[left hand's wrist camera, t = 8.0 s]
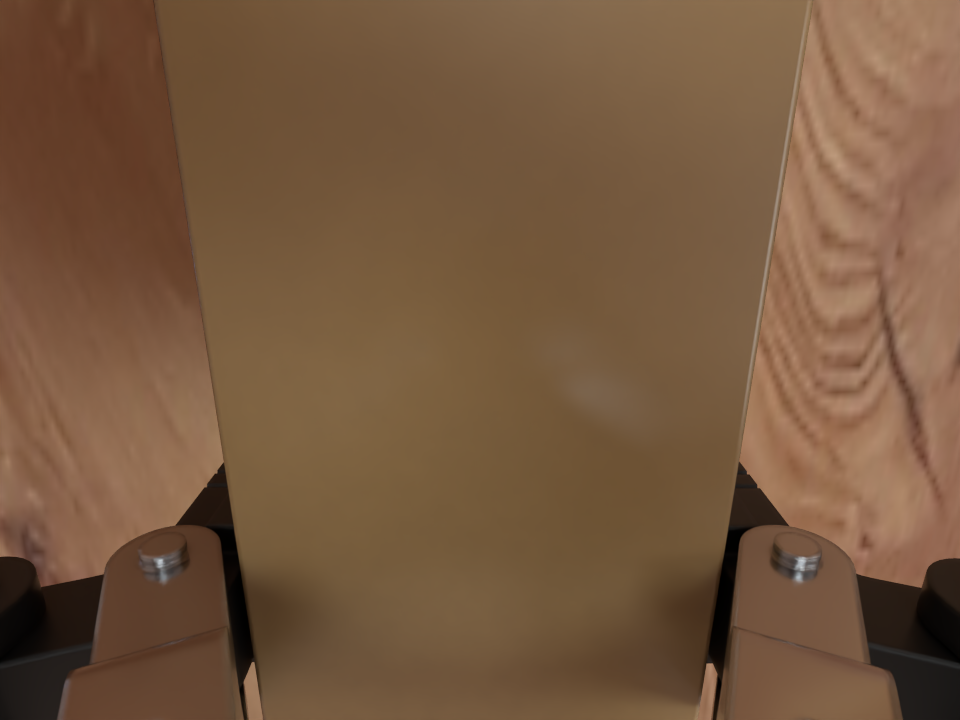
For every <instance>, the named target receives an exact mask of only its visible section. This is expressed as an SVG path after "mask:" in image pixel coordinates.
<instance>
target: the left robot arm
mask: <svg viewBox="0 0 960 720" xmlns="http://www.w3.org/2000/svg"><path fill="white" fill-rule="evenodd" d="M252 662H255V661H254V655H253V648H252V642H251V635H250V629H249V622H248V616H247V609H246V603H245V596H244V590H243V583H242V576H241V570H240V563H239V557H238V550H237V544H236V537H235V531H234V524H233V518H232V511H231V504H230V498H229V491H228V485H227V478H226V472H225V465H224V463H223V464H222V465H221V467H220V468H219V469H218V473H217V474H214V476H213V477H212V478H211V480H210V481H209V482H208V484H207V488H204V489H203V490H202V491H201V493H200V494H199V495H198V497H197V498H196V499H195V501H194V502H193V503H192V505H191V506H190V507H189V508H188V510H187V511H186V512H185V514H184V515H183V516H182V518H181V519H180V520H179V522H178V523H177V524H176V525H175V526H170V527H165V528H161V529H157V530H154V531H151V532H148V533H146V534H143V535H141V536H139V537H137V538H135V539H133V540H131V541H129V542H128V543H126V544H125V545H123V546H122V547H121V548H120V549H118V550H117V551H116V552H115V553H114V554H113V555H112V556H111V558H110V559H109V561H108V562H107V564H106V567H105V571H104V574H103V575H99V576H95V577H90V578H85V579H80V580H75V581H70V582H65V583H60V584H55V585H50V586H45V587H41V585H40V582H39V578H38V575H37V572H36V568H35V567H34V565H33V564H32V563H31V562H30V561H28V560H26V559H23V558H18V557H0V720H249V715H248V707H247V698H246V692H245V686H244V679H245V677H246V675H247V672H248V670H249V668H250V665H251V663H252ZM707 663H713V665H714V667H715V669H716V671H717V674H718V675H717V681H716V687H715V693H714V699H713V707H712V716H711V720H960V559H957V558H953V559H943V560H939V561H936V562H934V563H932V564H931V565H930V566H929V567H928V569H927V572H926V575H925V579H924V582H923V585H922V588H919V587H914V586H909V585H904V584H899V583H894V582H889V581H884V580H879V579H874V578H870V577H865V576H861V575H858V574H856V570H855V567H854V564H853V562H852V560H851V559H850V557H849V556H848V555H847V554H846V553H845V552H844V551H843V550H842V549H840V548H839V547H838V546H837V545H835V544H834V543H832V542H831V541H829V540H827V539H825V538H823V537H821V536H819V535H817V534H814V533H812V532H809V531H806V530H803V529H799V528H795V527H790V526H789V525H788V524H787V523H786V521H785V520H784V519H783V518H782V516H781V515H780V514H779V512H778V511H777V510H776V508H775V507H774V506H773V505H772V503H771V502H770V501H769V499H768V498H767V497H766V496H765V494H764V493H763V492H762V490H761V489H760V488H757V484H756V483H755V481H754V480H753V479H752V477H751V476H750V475H747V471H746V470H745V468H744V467H743V466H742V465H741V463H740V462H739V464H738V471H737V477H736V483H735V489H734V495H733V502H732V508H731V514H730V520H729V526H728V533H727V539H726V545H725V551H724V558H723V564H722V570H721V576H720V582H719V589H718V595H717V601H716V607H715V613H714V620H713V626H712V632H711V638H710V644H709V651H708V657H707Z"/></svg>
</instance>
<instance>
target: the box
mask: <svg viewBox="0 0 960 720" xmlns="http://www.w3.org/2000/svg"><path fill="white" fill-rule="evenodd" d="M153 1H154V7H155V14H156V20H157V27H158V33H159V40H160V46H161V53H162V60H163V66H164V73H165V79H166V86H167V92H168V99H169V105H170V112H171V118H172V125H173V131H174V138H175V145H176V151H177V158H178V164H179V171H180V177H181V184H182V190H183V197H184V203H185V210H186V217H187V223H188V230H189V236H190V243H191V249H192V256H193V262H194V269H195V275H196V282H197V289H198V295H199V302H200V308H201V315H202V321H203V328H204V334H205V341H206V347H207V354H208V360H209V367H210V374H211V380H212V387H213V393H214V400H215V406H216V413H217V419H218V426H219V432H220V439H221V446H222V452H223V459H224V465H225V472H226V478H227V485H228V491H229V498H230V504H231V511H232V518H233V524H234V531H235V537H236V544H237V550H238V557H239V563H240V570H241V576H242V583H243V590H244V596H245V603H246V609H247V616H248V622H249V629H250V635H251V642H252V648H253V655H254V661H255V668H256V675H257V681H258V688H259V694H260V701H261V707H262V714H263V720H697V719H698V713H699V706H700V700H701V694H702V688H703V682H704V675H705V669H706V663H707V657H708V651H709V644H710V638H711V632H712V626H713V620H714V613H715V607H716V601H717V595H718V589H719V582H720V576H721V570H722V564H723V558H724V551H725V545H726V539H727V533H728V526H729V520H730V514H731V508H732V502H733V495H734V489H735V483H736V477H737V471H738V464H739V458H740V452H741V446H742V440H743V433H744V427H745V421H746V415H747V409H748V402H749V396H750V390H751V384H752V377H753V371H754V365H755V359H756V353H757V346H758V340H759V334H760V328H761V322H762V315H763V309H764V303H765V297H766V291H767V284H768V278H769V272H770V266H771V260H772V253H773V247H774V241H775V235H776V229H777V222H778V216H779V210H780V204H781V197H782V191H783V185H784V179H785V173H786V166H787V160H788V154H789V148H790V142H791V135H792V129H793V123H794V117H795V111H796V104H797V98H798V92H799V86H800V80H801V73H802V67H803V61H804V55H805V49H806V42H807V36H808V30H809V24H810V17H811V11H812V5H813V0H153Z"/></svg>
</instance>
